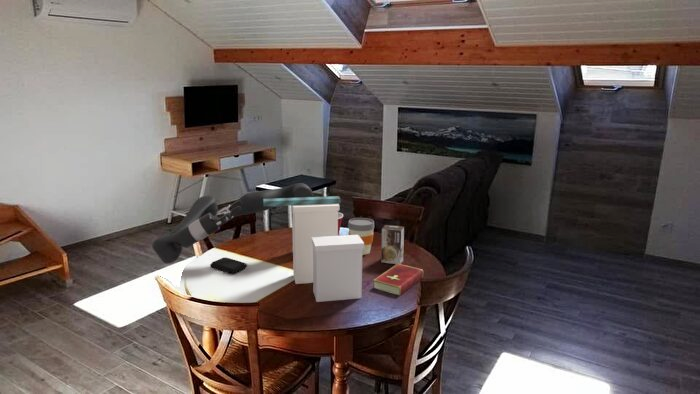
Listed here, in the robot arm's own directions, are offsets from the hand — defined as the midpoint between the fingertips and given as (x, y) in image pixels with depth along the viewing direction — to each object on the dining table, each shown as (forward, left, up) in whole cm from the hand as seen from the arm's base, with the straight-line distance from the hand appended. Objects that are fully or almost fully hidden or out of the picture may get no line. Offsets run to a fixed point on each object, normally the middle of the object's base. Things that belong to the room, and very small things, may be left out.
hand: (241, 205), depth 180 cm
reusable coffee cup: (-51, +33, -33) cm, 69 cm away
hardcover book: (-22, +58, -33) cm, 70 cm away
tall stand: (-15, +24, -33) cm, 43 cm away
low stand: (-3, +38, -33) cm, 50 cm away
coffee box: (-44, +50, -33) cm, 74 cm away
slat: (-12, +20, -1) cm, 24 cm away
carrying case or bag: (-11, -15, -33) cm, 38 cm away
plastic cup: (-67, +13, -33) cm, 76 cm away
